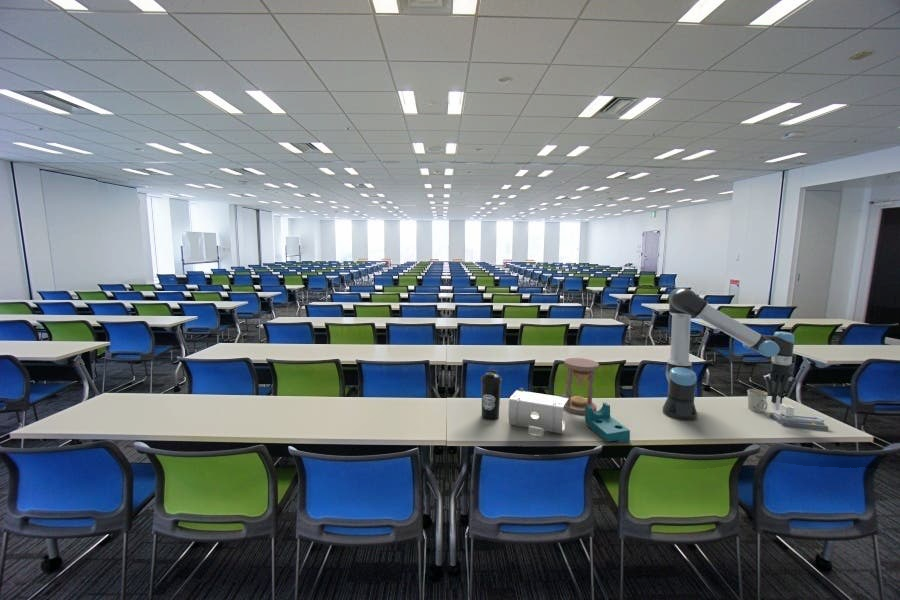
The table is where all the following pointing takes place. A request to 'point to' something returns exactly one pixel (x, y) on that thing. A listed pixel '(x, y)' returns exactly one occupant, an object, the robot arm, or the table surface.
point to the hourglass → (581, 373)
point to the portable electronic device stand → (543, 405)
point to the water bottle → (491, 395)
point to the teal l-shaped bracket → (606, 424)
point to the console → (800, 421)
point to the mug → (757, 400)
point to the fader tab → (787, 410)
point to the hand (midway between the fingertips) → (775, 409)
